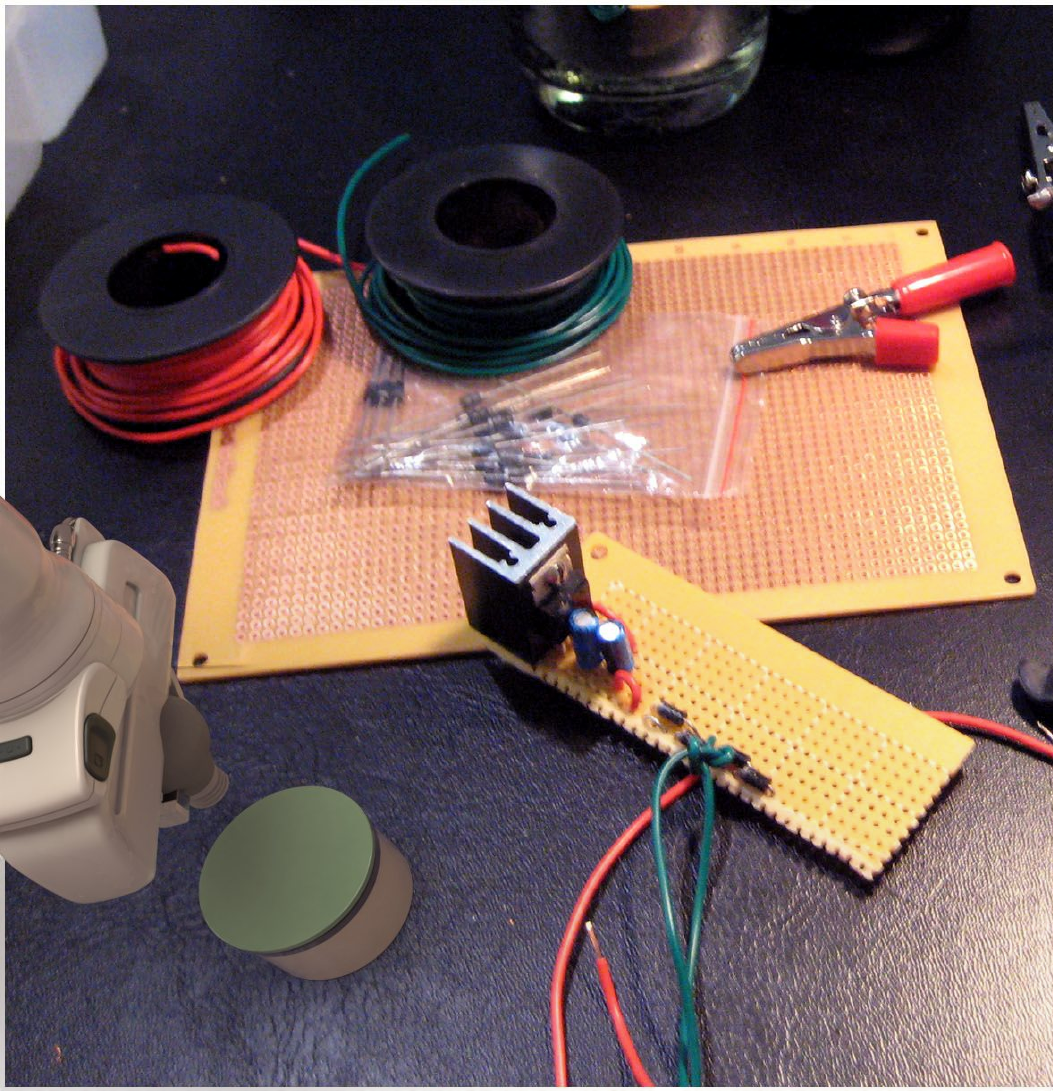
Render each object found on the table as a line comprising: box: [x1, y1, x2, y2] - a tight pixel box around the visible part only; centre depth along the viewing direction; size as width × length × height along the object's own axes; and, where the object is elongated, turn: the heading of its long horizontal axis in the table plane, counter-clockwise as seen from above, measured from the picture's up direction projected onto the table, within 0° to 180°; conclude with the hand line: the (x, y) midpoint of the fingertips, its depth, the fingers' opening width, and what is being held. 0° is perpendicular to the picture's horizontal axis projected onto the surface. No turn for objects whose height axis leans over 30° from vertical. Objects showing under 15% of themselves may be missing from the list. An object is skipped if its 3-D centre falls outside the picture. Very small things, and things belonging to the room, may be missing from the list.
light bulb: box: [160, 695, 230, 809], centre depth 72 cm, size 6×6×10 cm
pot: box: [198, 785, 414, 981], centre depth 86 cm, size 12×12×9 cm
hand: (180, 768), depth 73 cm, fingers closed on light bulb, 5 cm apart
